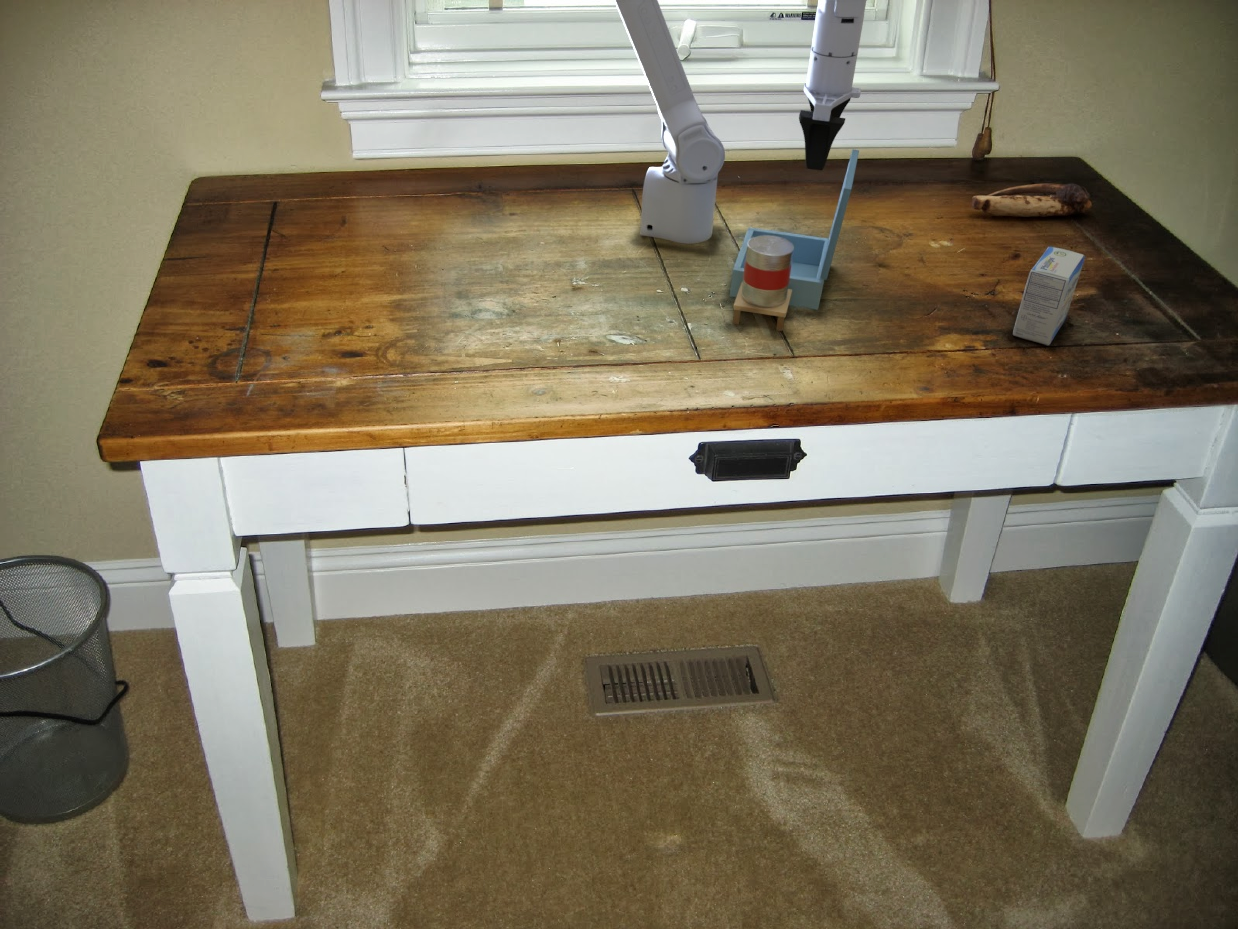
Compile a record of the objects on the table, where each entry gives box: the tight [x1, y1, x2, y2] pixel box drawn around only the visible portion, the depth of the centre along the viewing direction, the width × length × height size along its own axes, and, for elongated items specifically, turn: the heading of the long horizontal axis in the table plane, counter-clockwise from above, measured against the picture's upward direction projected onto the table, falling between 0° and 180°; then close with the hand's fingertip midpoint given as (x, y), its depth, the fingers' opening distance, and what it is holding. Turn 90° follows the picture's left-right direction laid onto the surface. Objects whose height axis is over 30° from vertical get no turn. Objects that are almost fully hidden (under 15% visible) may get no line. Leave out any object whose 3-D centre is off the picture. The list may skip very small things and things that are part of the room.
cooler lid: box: [820, 148, 860, 281], centre depth 126 cm, size 11×13×1 cm
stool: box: [732, 282, 792, 332], centre depth 125 cm, size 6×6×3 cm
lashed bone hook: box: [971, 183, 1093, 218], centre depth 154 cm, size 9×5×18 cm
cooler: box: [729, 226, 829, 311], centre depth 132 cm, size 11×13×4 cm
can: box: [741, 235, 794, 307], centre depth 122 cm, size 5×5×6 cm
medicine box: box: [1012, 246, 1086, 347], centre depth 125 cm, size 8×4×9 cm, turn 148°
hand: (817, 158), depth 140 cm, fingers open, 7 cm apart
